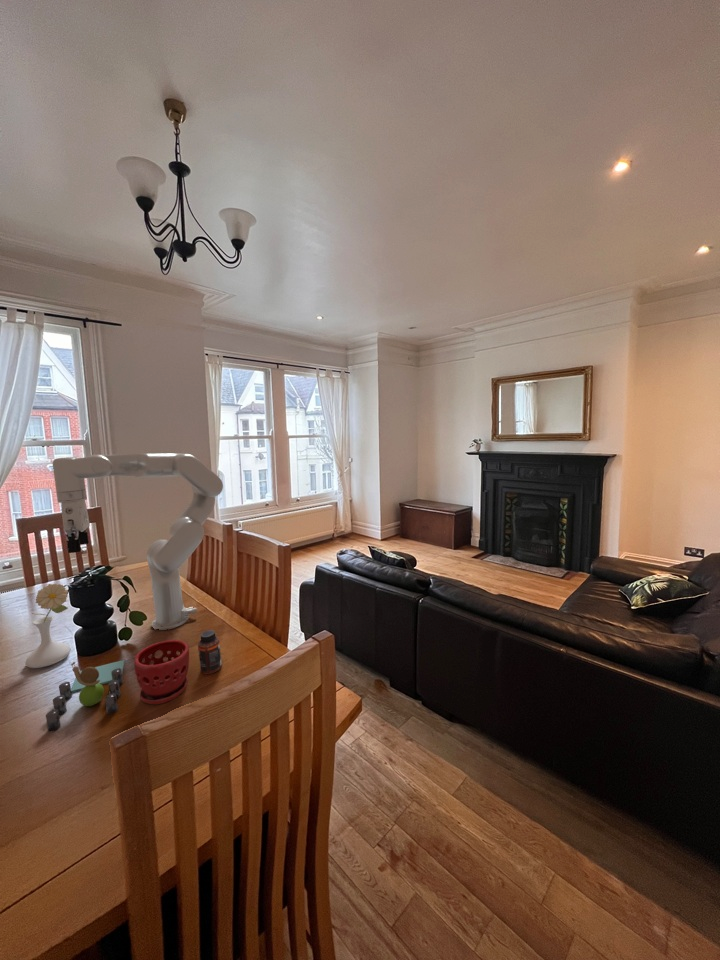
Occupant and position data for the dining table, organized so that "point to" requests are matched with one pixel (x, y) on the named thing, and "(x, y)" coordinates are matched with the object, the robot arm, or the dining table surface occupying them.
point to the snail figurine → (89, 685)
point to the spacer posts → (66, 694)
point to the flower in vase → (48, 648)
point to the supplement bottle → (209, 652)
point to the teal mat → (101, 675)
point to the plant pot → (162, 671)
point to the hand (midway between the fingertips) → (79, 548)
